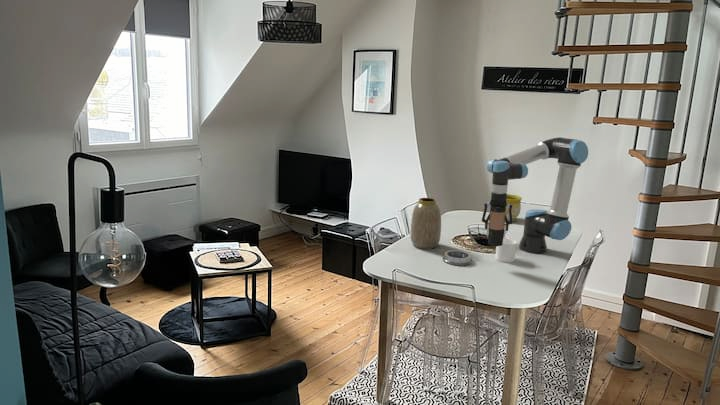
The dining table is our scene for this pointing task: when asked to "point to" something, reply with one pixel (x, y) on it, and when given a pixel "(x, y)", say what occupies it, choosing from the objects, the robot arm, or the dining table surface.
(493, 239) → the travel mug
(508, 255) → the mug
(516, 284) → the dining table surface
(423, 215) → the vase
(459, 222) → the dining table surface
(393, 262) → the dining table surface
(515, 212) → the flowerpot
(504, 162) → the robot arm
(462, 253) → the ring
